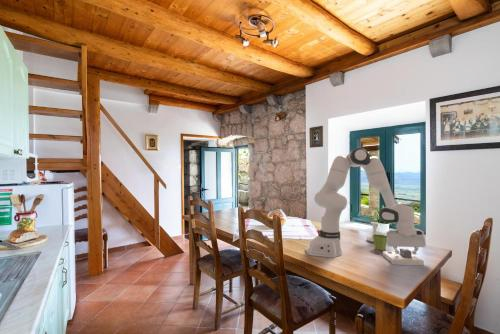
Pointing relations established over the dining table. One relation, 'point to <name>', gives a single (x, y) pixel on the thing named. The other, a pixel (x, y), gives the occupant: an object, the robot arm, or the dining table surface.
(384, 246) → the plant pot
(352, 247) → the dining table surface
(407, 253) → the plug
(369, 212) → the flower in vase
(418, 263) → the socket plate
